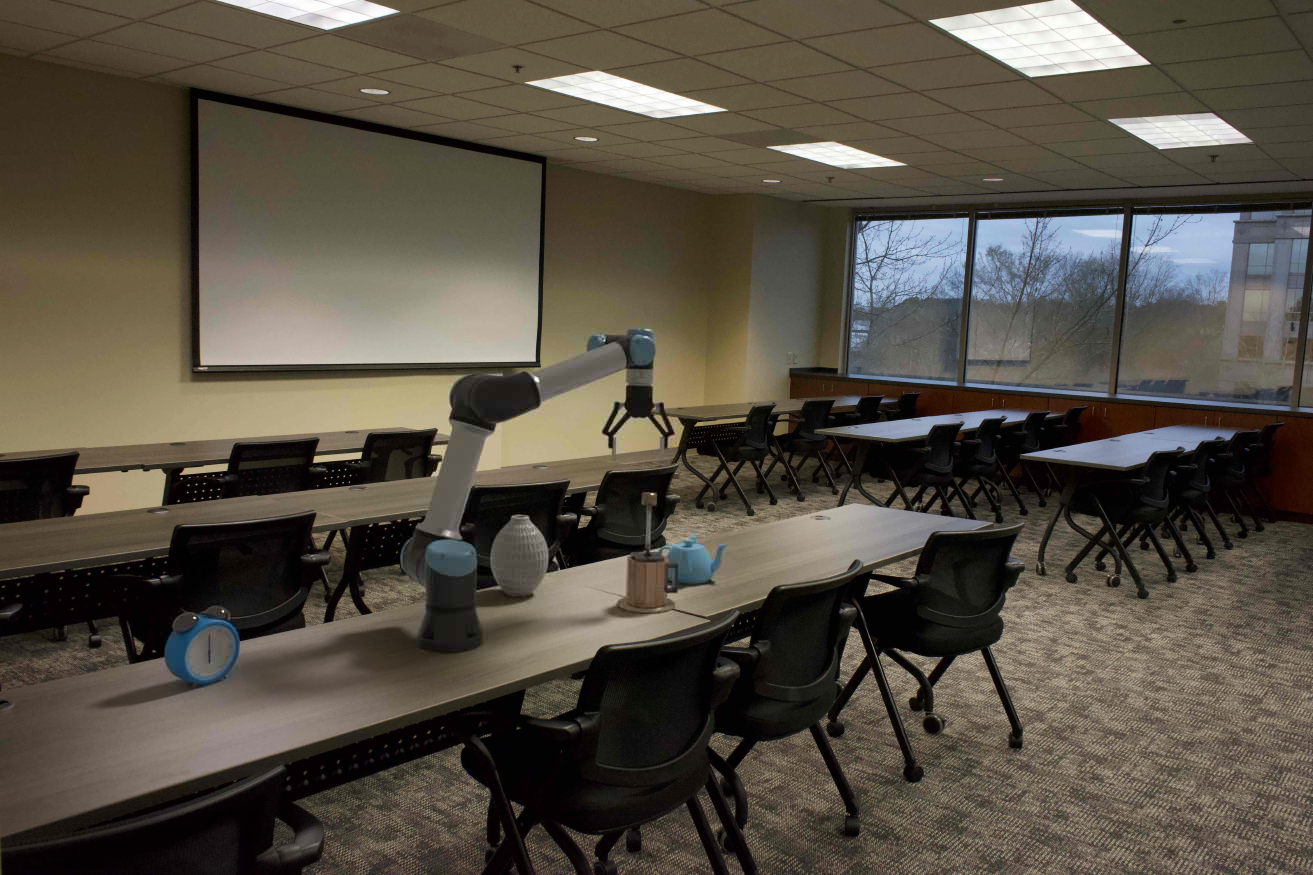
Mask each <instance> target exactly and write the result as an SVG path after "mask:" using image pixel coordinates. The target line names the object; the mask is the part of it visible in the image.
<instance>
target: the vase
mask: <svg viewBox="0 0 1313 875" xmlns="http://www.w3.org/2000/svg"><path fill="white" fill-rule="evenodd" d="M489 562H490V568H491V572H492V575H493V578H494V579H495V582H496V584H498V586H499V588H500V589H501V590H502V591H503V592H504V593H505V594H506V595H507V594H508V595H507V596H510V595H511V596H510V597H515V596H522V597H527V596H526V595H528V596H530V595H532V593H534V592H535V590H537V588H538V587H539V586H540V584H541V583H542V581H543V580H544V578H545V576H546V574H547V570H548V566H549V548H548V545H547V541H546V539H545V537H544V535H543V534H542V532H541V531H540V530H539V529H538V527H537V526H536V525H535V524H534V523H533V522H532V521H531V519H530V516H529V515H525V514H516V515H512V516H511V517H510V520H509V521H508V522H507V523H506V524H505V525H504V526H503V527H502V528H501V529H500V531H499V532H498V533H497V535H496V536H495V538H494V540H493V543H492V545H491V550H490V560H489Z"/></svg>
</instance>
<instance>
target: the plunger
mask: <svg viewBox="0 0 1313 875" xmlns="http://www.w3.org/2000/svg"><path fill="white" fill-rule="evenodd" d="M657 498H658V494H657V493H656V492H651V491H650V492H642V493H641V505H642V506H645V507H646V522H645V523H646V525H645V526H646V528H645V529H646V530H645V552H646V555H645V556H650V552H651V533H652V532H651V531H652V530H651V528H652V506H654V507H655V506H657V505H658V504H657V501H658V500H657ZM643 562H657V561H643Z"/></svg>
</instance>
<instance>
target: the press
mask: <svg viewBox="0 0 1313 875" xmlns="http://www.w3.org/2000/svg"><path fill="white" fill-rule="evenodd" d="M645 555H646V551H632V552H630V554H629V556H627V557H626V574H625V576H626V577H625V578H626V579H625V584H626V585H625V597H622V598H620V599H618V600H617V602H616V606H617V607H618V608H619V609H620V610H623V611H626V612H630V613H636V614H659V613H661V612H663V613H667V612H670V611H672V610H674V609H675V608H676V602H675V601H674V600H672V599H670V598H668V594H678V592H679V590H678V588H679V583H678V563H668V558H667V557H666V556H667V555H666V556H665V555H663V554H662V555H661V554H660V553H659V551H650V556H645ZM643 561H657V562H643ZM668 568H673V582H672V587H668V582H669V580H668ZM666 611H667V612H666Z"/></svg>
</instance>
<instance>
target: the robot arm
mask: <svg viewBox="0 0 1313 875" xmlns="http://www.w3.org/2000/svg"><path fill="white" fill-rule="evenodd" d="M654 334H655V333H654V330H652V329H650V328H628V329H627V331H626V334H602V333H601V334H593V335H590V337H589V338H588V340H587V342H586V343H587V344H586V352H583V353H581V354H578V355H576V356H573V357H571V358H570V357H569V358H567V359H564V360H562V361H559V362H557V363H554V364H552V365H551V364H550V365H548V366H546V367H543V368H539V369H538V370H535V371H532V372H529V371H527V370H523V371H520V372H518V373H514V374H507V375H493V374H485V373H481V372H479V373H478V372H477V373H470V374H465V375H462V377H459V378H458V379H457V380H456V381H455V382H454V383H453V385H452V387H451V388H450V391H449V397H448V398H449V404H450V408H451V410H450V413H449V417H448V422H449V424H450V426H451V432H450V435H449V438H448V441H447V445H446V449H445V452H444V455H443V458H442V462H441V464H440V468H439V471H438V474H437V478H436V481H435V484H434V488H433V491H432V494H431V497H430V500H429V505H428V507H427V511H426V514H425V518H424V520H423V521H422V522H420V523H419V524H416V526H415V528H414V531H413V534H412V537H410V538H409V539H408V540H407V541H406V542H405V543H404V545H403V546H402V548H401V552H400V565H401V568H402V570H403V571H404V572H405V574H406V575H407V577H408V578H409V579H410V580H411V581H412V582H413V583H416V584H417V585H420V586H421V587H423V588H424V589H425V612H424V614H423V618H422V620H421V623H420V626H419V629H418V632H417V646H418V647H419V648H421V649H423V650H426V651H429V652H438V653H456V652H462V651H463V652H464V651H468V650H472V649H475V648H477V647H479V646H481V645H482V644H483V642H484V630H483V627H482V624H481V622H480V621H481V620H480V618H479V615H478V611H477V574H478V573H477V571H478V570H477V569H478V568H477V567H478V559H477V550H476V548H475V547H474V546H473V545H472V544H470V543H468V542H466V541H463V537H462V536H461V534H460V532H459V528H460V525H461V522H462V518H463V516H464V513H465V508H466V505H467V502H468V498H469V495H470V492H471V490H472V486H473V482H474V479H475V475H476V472H477V469H478V466H479V462H480V459H481V455H482V452H483V448H484V446H485V443H486V439H488V437H490V436H491V435H493V434H494V433H495V431H496V429H497V428H496V427H497V424H501V423H504V422H507V421H510V420H513V419H515V418H518V417H520V416H522V415H525V414H526V413H529V412H531V411H534V410H537V409H539V408H541V405H542V403H543V402H545V401H547V400H550V399H553V398H555V397H558V396H561V395H563V394H566V393H568V392H570V391H573V390H575V389H578V388H580V387H584V386H585V385H588V384H590V383H593V382H596V381H598V380H600V379H604V378H605V377H609V376H610V375H613V374H616V373H618V372H621V371H623V370H626V372H625V373H626V375H625V382H626V384H627V385H626V386H625V399H624V400H625V401H624V402H620V401H617V400H615V401H614V403H613V409H612V411H611V413H610V415H609V417H608V418H607V420H606V423H605V425H604V426H603V428H602V431H601V434H603V435H604V436H607V447H608V449H611V461H612V462H616V460H617V457H616V456H617V454H616V453H617V437H616V436H615V435H616V434H617V433H618V431H619V430H621V429H622V427H623V425H625V423H626V422H627V421H628V420H629V419H631V418H633V419H638V418H639V419H646V418H648V419H649V421H650V422H651V423H652V424H653V425H654V427H655V428H656V429H657V430H658V432H659V433H660V434H661V436H659V458H658V460H659V461H660V462H664V461H665V449H668V447H669V437H671V436H674V435H675V431H674V429H673V426H672V424H671V422H670V420H669V417H668V415H667V412H666V411H665V403H664V402H662V401H659V402H654V401H653V399H654V387H653V386H652V384H654V358H655V357H656V353H657V347H656V344H655V335H654ZM622 408H624V410H625V411H626V412H625V413H624V414H623V416H622V417H621V418H620V419H619V420H618V422H617V423H616V424H615V425H614V426H613V427H612V425H613V423H614V421H615V418H616V417H617V415H618V413H619V411H620V410H622ZM654 408H655V410H657V411H658V412H659V415H660V417H661V419H662V421H663V424H664V426H665V428H663V426H662V425H661V423H660V422H659V421H658V420H657V419H656V417H655V415H654V414H652V411H653V410H654ZM611 427H612V428H611ZM610 429H611V430H610ZM665 429H666V430H667V431H666V430H665Z"/></svg>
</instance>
